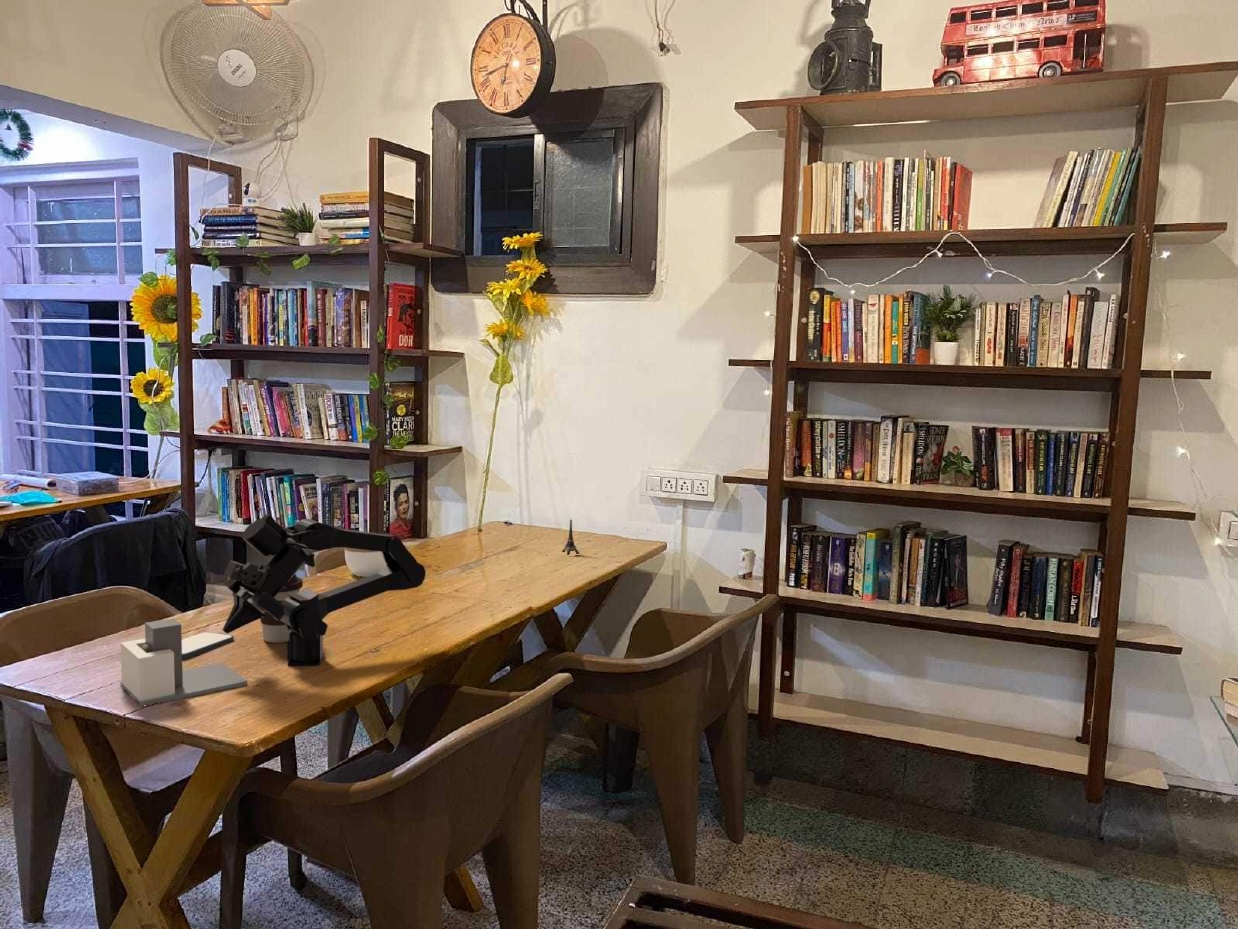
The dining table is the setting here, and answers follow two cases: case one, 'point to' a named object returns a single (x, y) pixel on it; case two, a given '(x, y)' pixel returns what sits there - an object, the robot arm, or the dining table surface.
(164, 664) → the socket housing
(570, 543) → the eiffel tower figurine
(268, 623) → the coffee cup
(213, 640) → the smartphone
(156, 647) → the plug
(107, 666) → the dining table surface
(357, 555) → the lidded bowl
